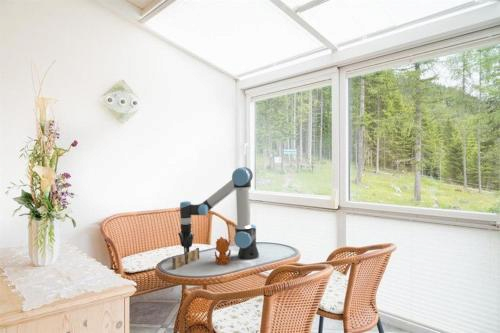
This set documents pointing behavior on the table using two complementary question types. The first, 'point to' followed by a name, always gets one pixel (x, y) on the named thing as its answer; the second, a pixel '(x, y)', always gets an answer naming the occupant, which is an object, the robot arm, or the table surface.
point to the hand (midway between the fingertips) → (186, 256)
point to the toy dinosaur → (222, 251)
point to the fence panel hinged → (193, 255)
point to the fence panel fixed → (179, 261)
